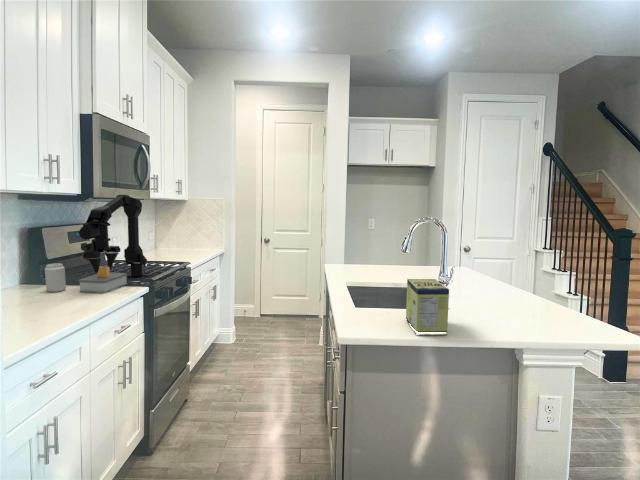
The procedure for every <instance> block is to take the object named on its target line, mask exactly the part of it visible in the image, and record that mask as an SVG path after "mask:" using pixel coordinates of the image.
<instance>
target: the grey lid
mask: <svg viewBox="0 0 640 480" xmlns="http://www.w3.org/2000/svg"><path fill="white" fill-rule="evenodd" d="M110 270H111V269H110V268H109V267H108V266H101V265H99V270H98V273H95V274H94V275H93V274H92V275H89V276H86V277H83V278H81V279H80V278H79V279H78V283H80V282H85V283H107V282H110V281H113V280H116V279H118V278H121V277H124V276H126V277H128V273H127V272H111V271H110Z"/></svg>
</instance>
